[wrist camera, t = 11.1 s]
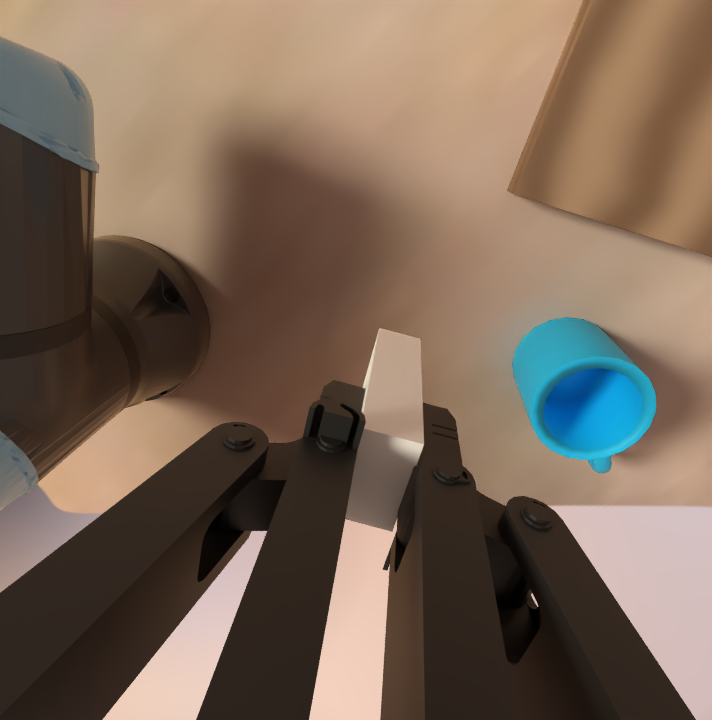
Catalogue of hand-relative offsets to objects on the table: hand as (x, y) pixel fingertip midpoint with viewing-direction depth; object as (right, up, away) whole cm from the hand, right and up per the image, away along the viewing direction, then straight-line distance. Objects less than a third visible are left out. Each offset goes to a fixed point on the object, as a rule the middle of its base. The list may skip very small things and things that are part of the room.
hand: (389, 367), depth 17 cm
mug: (+17, -2, +24) cm, 29 cm away
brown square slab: (+19, +17, +15) cm, 29 cm away
